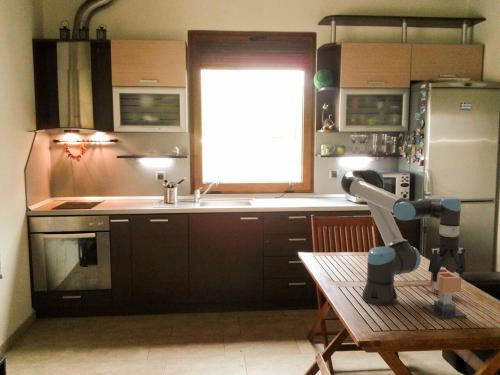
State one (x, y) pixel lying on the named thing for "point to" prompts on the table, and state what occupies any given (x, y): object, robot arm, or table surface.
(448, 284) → the collar
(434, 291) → the soda can
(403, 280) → the table surface
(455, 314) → the post stand
